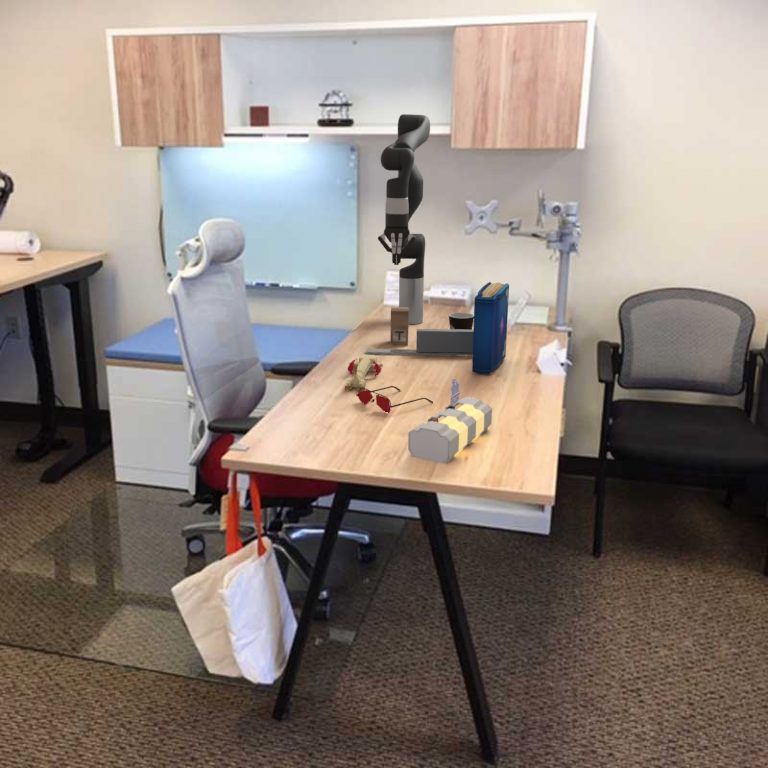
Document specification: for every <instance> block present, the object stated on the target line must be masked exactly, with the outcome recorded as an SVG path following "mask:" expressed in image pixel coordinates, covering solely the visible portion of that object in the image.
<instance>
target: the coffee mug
mask: <svg viewBox="0 0 768 768" xmlns="http://www.w3.org/2000/svg"><path fill="white" fill-rule="evenodd" d="M448 322H449V323H448V324H449V329H464V330H473V327H474V313H473V314H472V313H469V312H453V313H449V314H448Z"/></svg>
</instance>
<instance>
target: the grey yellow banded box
mask: <svg viewBox="0 0 768 768" xmlns="http://www.w3.org/2000/svg"><path fill="white" fill-rule="evenodd" d="M451 384H452V386H451V387H450V391H451V395H450V403H449V404H448V405H446V406H445V408H444V409H445V410H440V411H438V412H437V413H435V414H434V415H432V416H430V417H429V418H428V419H427V422H426V423H424V422H422V423H421V424H419V425H417V426H416V427H415V428H414V429H412V430H410V431H409V432H408V439H407V442H408V443H407V450H408V452H409V453H410V455H411V457H412V458H416V459H420V460H425V461H430V462H435V463H438V464H439V463H440V464H442V465H443V464H444V465H446V464H447V463H448V462H450V461H451V460H452V459H453V458H454V457H456V456H457V455H459V453H461V451H463V450H464V449H466V448H467V447H468V446H469V445H470V444H471V443H473V442H474V441H475V440H476V439H477V438H479V437H480V436H481V435H482V434H484V433H485V432H486V431H487V430H488V428H489V427H490V426H492V419H493V408H492V407H491V405H489V404H488V403H484V402H483V401H482V399H480V398H475V397H474V398H473V397H469V396H465V397H463V398H461V399H460V390H459V389H460V382H458V380H457V379H456V378H454V379H452V381H451ZM459 405H461V406H460V407H458V408H457V409H456V407H457V406H459ZM441 417H444V418H443V419H442V420H441V419H440V421H439V418H441ZM486 429H487V430H486ZM485 430H486V431H485ZM484 431H485V432H484ZM483 432H484V433H483ZM478 436H479V437H478ZM473 440H474V441H473ZM472 441H473V442H472ZM468 444H469V445H468ZM467 445H468V446H467Z"/></svg>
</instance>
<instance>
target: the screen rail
mask: <svg viewBox="0 0 768 768" xmlns="http://www.w3.org/2000/svg"><path fill="white" fill-rule="evenodd" d="M364 354H365V355H376V356H377V355H379V356H380V355H384V356H385V355H386V356H387V355H388V356H390V355H391V356H436V355H471V356H470V357H473V353H460V352H416V349H406V348H404V349H399V348H396V349H395V348H392V349H390V348H366V349H365V353H364Z"/></svg>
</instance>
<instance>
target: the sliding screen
mask: <svg viewBox="0 0 768 768" xmlns="http://www.w3.org/2000/svg"><path fill="white" fill-rule="evenodd" d="M473 331H474V329H472V330H464V329H450V328H449V329H448V328H443V329H442V328H416V340H415V341H416V347H415V350H416V352H460V353H473Z"/></svg>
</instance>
